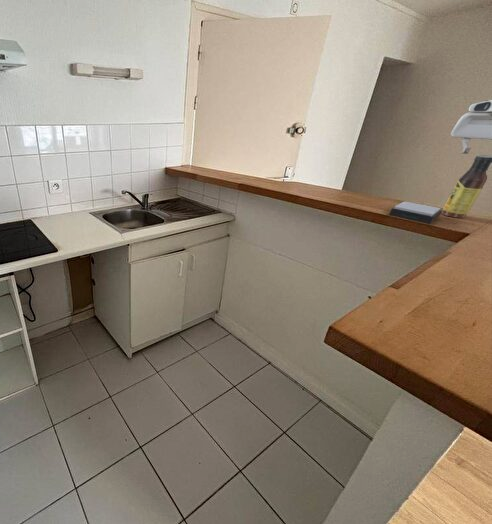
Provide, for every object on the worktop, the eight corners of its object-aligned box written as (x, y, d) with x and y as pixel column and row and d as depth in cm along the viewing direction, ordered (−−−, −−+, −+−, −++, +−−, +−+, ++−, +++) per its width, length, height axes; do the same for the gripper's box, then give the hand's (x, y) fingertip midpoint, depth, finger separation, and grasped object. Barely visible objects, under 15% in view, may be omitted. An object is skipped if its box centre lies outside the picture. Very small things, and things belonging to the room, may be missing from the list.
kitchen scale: (438, 217, 97) (443, 208, 96) (429, 224, 91) (434, 214, 90) (399, 209, 105) (403, 200, 103) (388, 215, 99) (392, 206, 98)
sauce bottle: (443, 211, 102) (474, 153, 92) (467, 216, 97) (503, 156, 88) (437, 215, 99) (469, 155, 89) (462, 220, 94) (498, 158, 85)
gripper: (574, 105, 76) (538, 159, 83) (467, 105, 90) (445, 150, 97) (573, 105, 73) (536, 161, 80) (463, 105, 87) (440, 152, 94)
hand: (485, 155), depth 88 cm, fingers open, 8 cm apart
